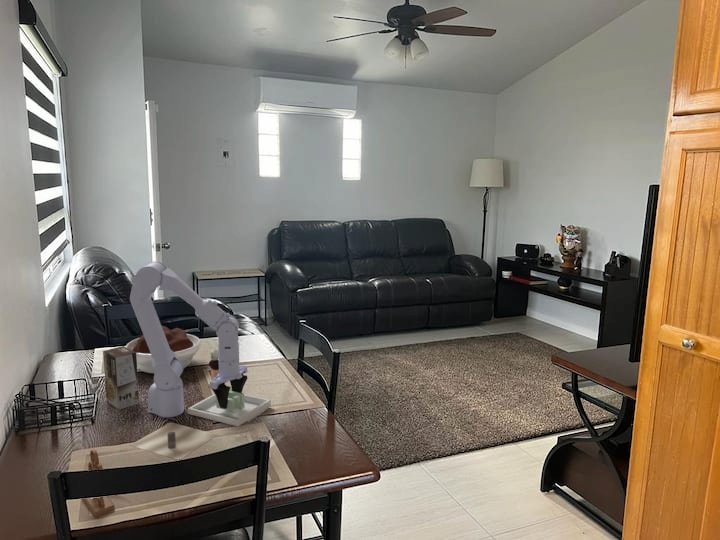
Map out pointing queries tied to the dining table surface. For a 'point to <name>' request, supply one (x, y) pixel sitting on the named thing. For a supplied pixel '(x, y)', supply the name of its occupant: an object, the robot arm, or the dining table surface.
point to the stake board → (181, 437)
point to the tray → (248, 413)
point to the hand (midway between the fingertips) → (230, 403)
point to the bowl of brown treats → (178, 343)
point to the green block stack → (233, 401)
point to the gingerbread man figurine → (103, 503)
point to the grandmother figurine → (214, 364)
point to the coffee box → (121, 377)
